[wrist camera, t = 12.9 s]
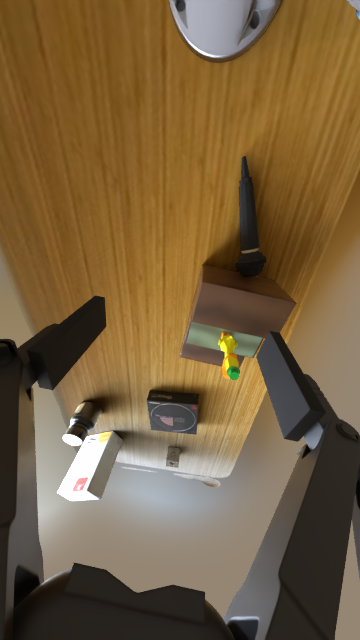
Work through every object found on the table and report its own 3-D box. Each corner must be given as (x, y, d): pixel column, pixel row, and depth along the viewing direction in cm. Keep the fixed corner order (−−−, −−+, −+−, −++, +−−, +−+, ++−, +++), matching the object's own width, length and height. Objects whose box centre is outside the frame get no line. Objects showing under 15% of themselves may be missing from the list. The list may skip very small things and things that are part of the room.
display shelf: (202, 264, 41) (202, 281, 31) (273, 280, 41) (296, 302, 31) (181, 347, 53) (175, 380, 43) (236, 360, 53) (243, 395, 43)
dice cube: (180, 448, 81) (178, 462, 76) (179, 454, 83) (177, 467, 79) (168, 446, 81) (166, 460, 77) (168, 452, 83) (166, 465, 79)
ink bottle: (79, 397, 70) (57, 429, 60) (102, 402, 70) (84, 435, 60) (81, 412, 75) (61, 445, 65) (102, 417, 75) (86, 450, 65)
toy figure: (230, 350, 42) (239, 395, 31) (214, 348, 42) (217, 392, 32) (236, 324, 38) (249, 366, 28) (219, 322, 39) (225, 363, 28)
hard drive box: (112, 429, 79) (87, 490, 62) (123, 439, 82) (102, 499, 65) (86, 435, 84) (56, 493, 67) (97, 445, 87) (71, 502, 70)
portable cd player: (153, 420, 72) (151, 430, 69) (149, 390, 64) (146, 400, 60) (196, 424, 71) (196, 435, 67) (198, 394, 62) (198, 405, 59)
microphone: (230, 167, 35) (240, 275, 42) (223, 158, 30) (235, 281, 37) (263, 155, 32) (267, 272, 39) (260, 143, 28) (265, 278, 35)
